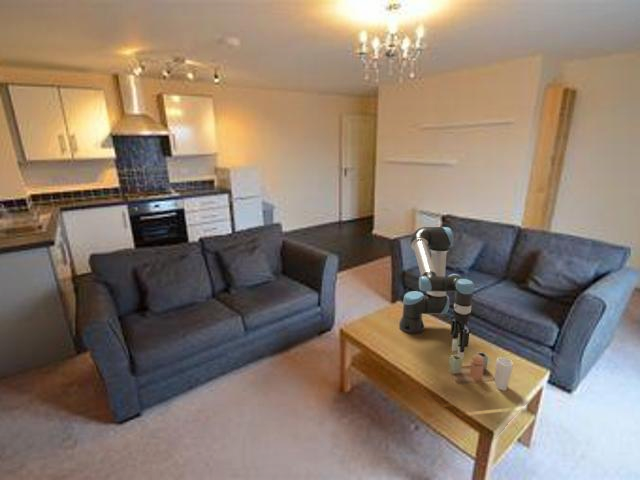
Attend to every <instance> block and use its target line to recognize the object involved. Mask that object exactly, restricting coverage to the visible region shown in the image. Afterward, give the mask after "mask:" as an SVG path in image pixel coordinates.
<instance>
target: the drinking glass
mask: <svg viewBox="0 0 640 480" xmlns="http://www.w3.org/2000/svg"><path fill="white" fill-rule="evenodd" d="M513 367H514V363H513V361H512V360H511V359H509V358H508V357H505V356H499V357H497V358H496V363H495V374H494V378H495V381H494V387H495V388H496V389H498V390H500V391H507V390H508V386H509V383H510V379H511V375H512V372H513Z"/></svg>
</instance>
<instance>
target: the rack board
mask: <svg viewBox="0 0 640 480" xmlns="http://www.w3.org/2000/svg"><path fill="white" fill-rule="evenodd" d="M445 369H446V370H447V372H448V373H449V374H450V376H451V377H452V378H453V380H454V381H455V382H456V384H457V385H464V384H465V385H467V384H477V383H487V382H495V375H493V374H492V373H491V372H490V370H488V369H487V368H486V371H483V375H482V380H475V381H474V380H473V379H472V377H471V376H470V369H471V364H470V365H462V368H461V373H457V374H453V373H452V371H451V370H450V366H449V367H445Z"/></svg>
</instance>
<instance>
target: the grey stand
mask: <svg viewBox="0 0 640 480" xmlns="http://www.w3.org/2000/svg"><path fill="white" fill-rule="evenodd" d="M475 355H481V356H482V357H483V359H484V363H483V365H484V368H483V371H486V369H487V367H488V361H489V356H488V355H487V354H486V353H485V352H484V351H483V352H476V353H475Z"/></svg>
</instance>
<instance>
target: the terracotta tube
mask: <svg viewBox="0 0 640 480" xmlns="http://www.w3.org/2000/svg"><path fill="white" fill-rule="evenodd" d="M470 365H471V369H470V376H471V377H472V379H473V380H474V381H475V380H482V375H483V368H484V365H483V364H482V365H476V364H474V363H473V360H471V362H470Z"/></svg>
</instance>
